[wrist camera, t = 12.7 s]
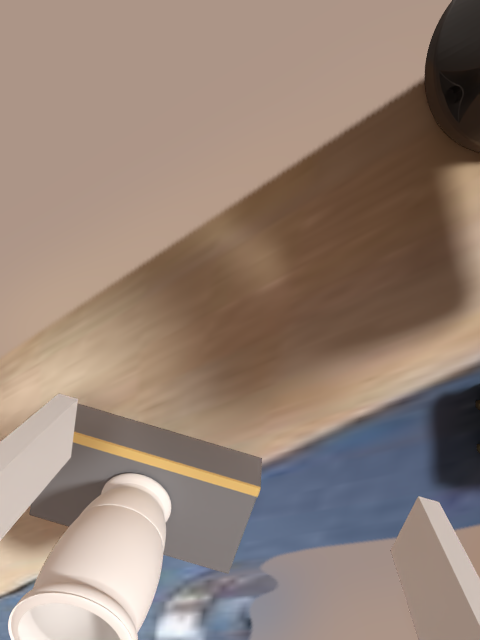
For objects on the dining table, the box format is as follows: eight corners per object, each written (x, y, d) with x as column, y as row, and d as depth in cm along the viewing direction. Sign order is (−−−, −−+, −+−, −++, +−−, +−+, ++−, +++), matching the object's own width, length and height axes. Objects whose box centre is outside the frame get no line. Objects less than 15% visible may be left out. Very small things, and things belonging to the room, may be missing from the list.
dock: (261, 458, 46) (260, 488, 41) (232, 539, 50) (228, 576, 45) (65, 400, 46) (39, 423, 41) (52, 485, 50) (27, 516, 45)
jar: (85, 516, 45) (-3, 659, 30) (106, 450, 42) (19, 576, 27) (165, 546, 45) (116, 702, 31) (192, 483, 42) (150, 625, 28)
